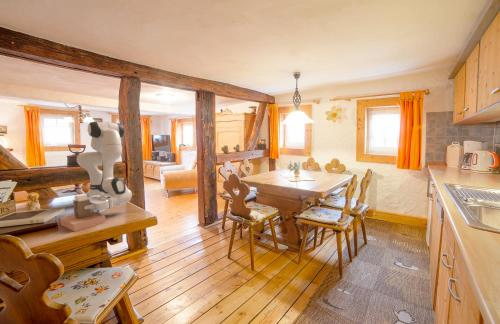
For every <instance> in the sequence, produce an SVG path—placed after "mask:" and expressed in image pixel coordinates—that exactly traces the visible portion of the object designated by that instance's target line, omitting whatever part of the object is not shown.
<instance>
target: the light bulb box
mask: <svg viewBox="0 0 500 324" xmlns="http://www.w3.org/2000/svg"><path fill="white" fill-rule="evenodd" d="M92 197H96V198H98V197H100V195H95V196H92ZM92 197H88V198H92ZM90 210H91V211H93V212H96V213H99V214H101V213H104V212H105V211H107V209H102V210H96V209H90Z"/></svg>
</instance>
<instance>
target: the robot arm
mask: <svg viewBox="0 0 500 324" xmlns="http://www.w3.org/2000/svg"><path fill="white" fill-rule="evenodd" d="M87 132H88V135H89V136H90V137H91V140H90V147H91V148H92V149H93V151H85V152H82V153H79V154H78V155H77V156H76V163H77V164H78V165H79V166H80V167H82V168H83V169H85V170H86V171H87V173H88V176H89V181H90V182H89V183H90V184H89V190H88V191H87V192H86V193H85V194H86V195H87V199H89V200H90V205H88V206H87V205H86V206H84V207H83V208H84V209H96V210H102V209H106V210H107V209H113V208H114V206H120V205H123V204H126V203H128V202H130V201H131V199H132V198H133V197H132V195H133V193H132V191H131V190H130V189H129V188H128V187H127V185H126V181H125V179H123V178H122V177H121V176H120V177H119V176H118V177H115V176H114V165H115V163H116V161H118V159H119V158H120V157H121V156H122V152H123V145H122V139H121V138H123V137H124V135H125V127H124V125H123V124H122V123H117V122H111V121H110V122H109V121H105V122H104V121H91V122H89V123H88V125H87ZM100 166H101V168H102V169H99V168H98V167H100ZM95 195H100V197H98V198H96V197H92V196H95ZM88 197H92V198H88Z"/></svg>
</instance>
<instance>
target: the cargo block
mask: <svg viewBox="0 0 500 324" xmlns="http://www.w3.org/2000/svg"><path fill="white" fill-rule="evenodd" d="M74 198H75V201H78V202H80V201H85V200H87V195H86V193H82V194H77V195H74Z"/></svg>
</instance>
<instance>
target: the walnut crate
mask: <svg viewBox="0 0 500 324" xmlns="http://www.w3.org/2000/svg"><path fill="white" fill-rule="evenodd" d="M72 203H73V211H74V212H73V213H74V214H73V215H75V218H77V219H83V218H87V217H90V216H91V210H90V209H84V208H83V207H84V206H86V205H87V206H88V205H90V200H89V199H87V200H85V201H80V202H78V201H75V200H73V201H72Z"/></svg>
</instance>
